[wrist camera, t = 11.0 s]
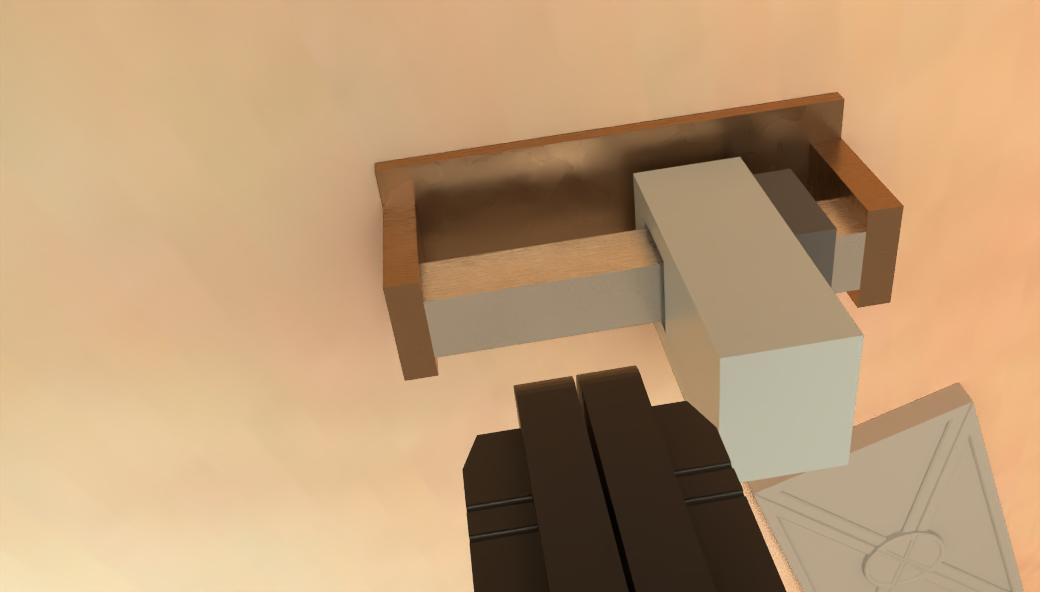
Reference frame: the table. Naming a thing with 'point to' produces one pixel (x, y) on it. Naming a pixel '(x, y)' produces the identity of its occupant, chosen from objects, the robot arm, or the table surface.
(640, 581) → the robot arm
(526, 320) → the rail
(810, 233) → the gray brick
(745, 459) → the pale grey rectangular block
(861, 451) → the envelope
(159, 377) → the table surface
